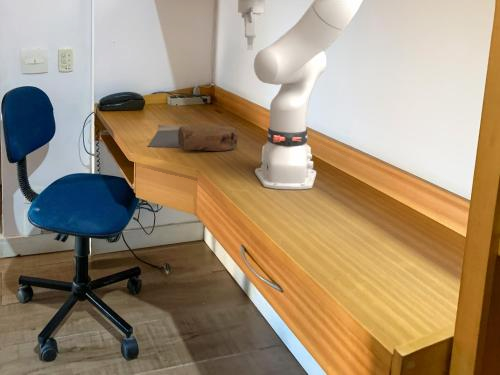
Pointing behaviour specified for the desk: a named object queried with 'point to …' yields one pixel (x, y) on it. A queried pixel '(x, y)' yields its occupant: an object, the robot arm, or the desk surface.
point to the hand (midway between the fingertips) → (250, 49)
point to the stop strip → (169, 127)
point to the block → (207, 137)
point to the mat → (165, 140)
